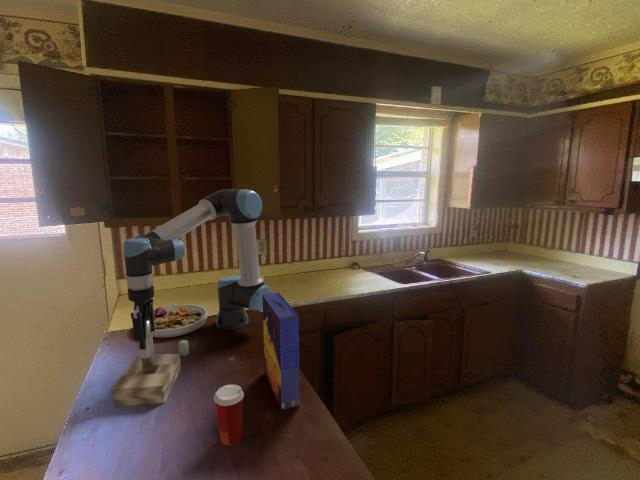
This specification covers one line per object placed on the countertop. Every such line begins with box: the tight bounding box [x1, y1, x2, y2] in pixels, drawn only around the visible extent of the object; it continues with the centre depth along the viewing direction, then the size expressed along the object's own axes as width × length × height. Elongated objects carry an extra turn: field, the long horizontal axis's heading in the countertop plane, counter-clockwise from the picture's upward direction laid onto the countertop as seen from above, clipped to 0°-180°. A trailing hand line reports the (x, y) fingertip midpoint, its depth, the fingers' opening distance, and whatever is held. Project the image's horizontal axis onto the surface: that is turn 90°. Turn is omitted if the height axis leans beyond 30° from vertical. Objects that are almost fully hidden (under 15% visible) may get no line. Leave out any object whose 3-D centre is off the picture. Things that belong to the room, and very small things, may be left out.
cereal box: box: [262, 292, 301, 411], centre depth 115 cm, size 22×6×30 cm, turn 22°
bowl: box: [151, 304, 208, 339], centre depth 165 cm, size 30×30×8 cm
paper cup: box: [213, 384, 245, 447], centre depth 94 cm, size 8×8×14 cm
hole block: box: [111, 352, 182, 408], centre depth 118 cm, size 15×20×6 cm
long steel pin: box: [141, 319, 154, 369], centre depth 115 cm, size 4×4×16 cm
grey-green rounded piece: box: [177, 339, 190, 357], centre depth 139 cm, size 4×4×5 cm
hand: (146, 353), depth 116 cm, fingers closed on long steel pin, 3 cm apart
